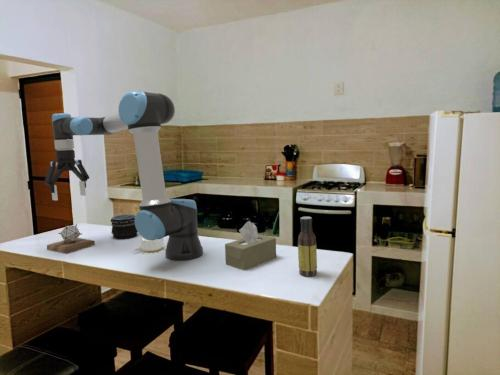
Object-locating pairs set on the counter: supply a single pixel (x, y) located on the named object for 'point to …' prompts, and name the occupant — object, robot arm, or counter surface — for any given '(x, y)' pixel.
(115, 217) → the container
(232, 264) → the tissue box
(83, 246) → the board
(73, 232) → the game die
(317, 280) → the counter surface
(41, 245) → the counter surface
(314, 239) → the sauce bottle
